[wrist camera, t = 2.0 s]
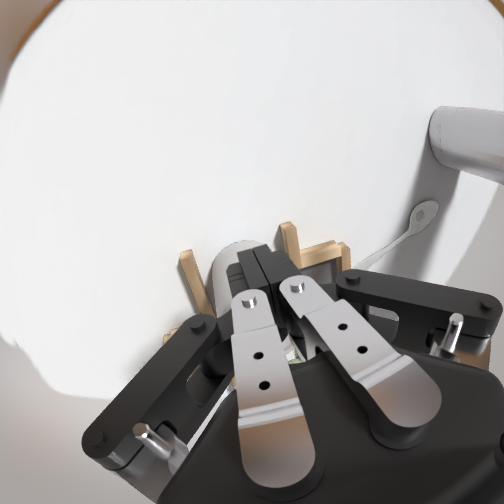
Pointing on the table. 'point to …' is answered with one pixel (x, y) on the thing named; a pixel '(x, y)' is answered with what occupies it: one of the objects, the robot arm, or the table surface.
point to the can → (223, 289)
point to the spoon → (414, 227)
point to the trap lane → (306, 260)
